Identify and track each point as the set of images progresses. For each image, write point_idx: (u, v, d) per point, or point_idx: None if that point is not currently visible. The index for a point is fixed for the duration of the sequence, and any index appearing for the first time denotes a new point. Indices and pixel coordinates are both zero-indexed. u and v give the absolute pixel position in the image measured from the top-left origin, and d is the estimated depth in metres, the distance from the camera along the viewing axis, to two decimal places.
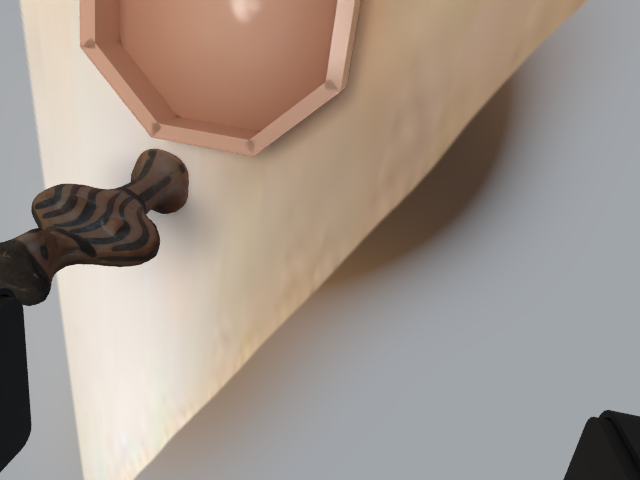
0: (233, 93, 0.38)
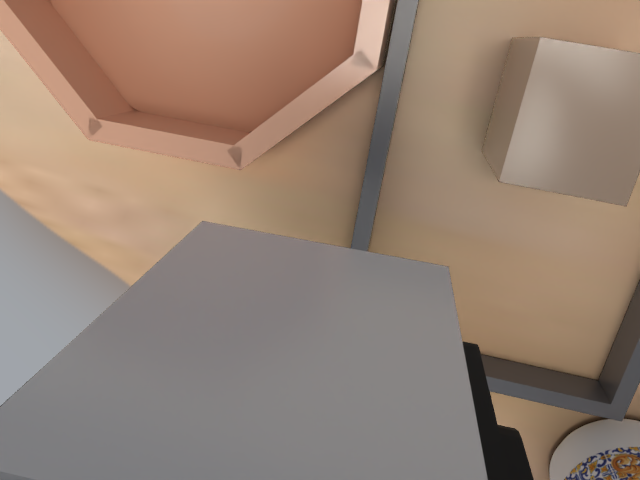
0: None
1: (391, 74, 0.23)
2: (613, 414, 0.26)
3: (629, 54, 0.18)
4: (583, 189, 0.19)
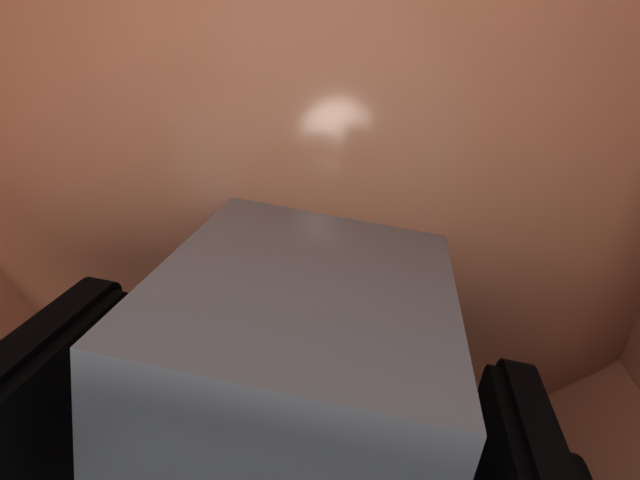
0: (51, 156, 0.12)
1: None
2: None
3: None
4: None
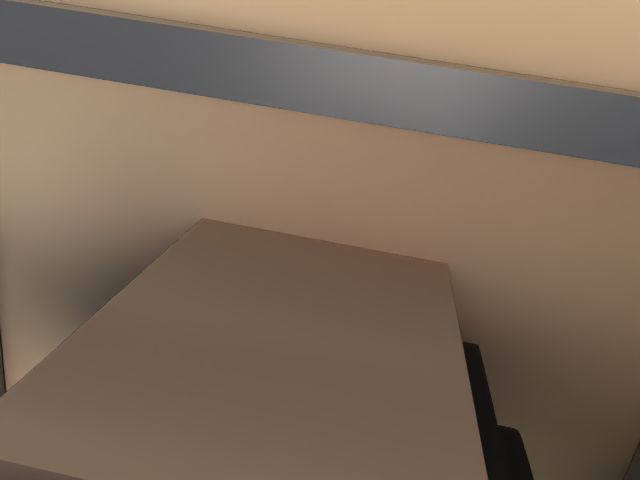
0: None
1: None
2: None
3: None
4: None
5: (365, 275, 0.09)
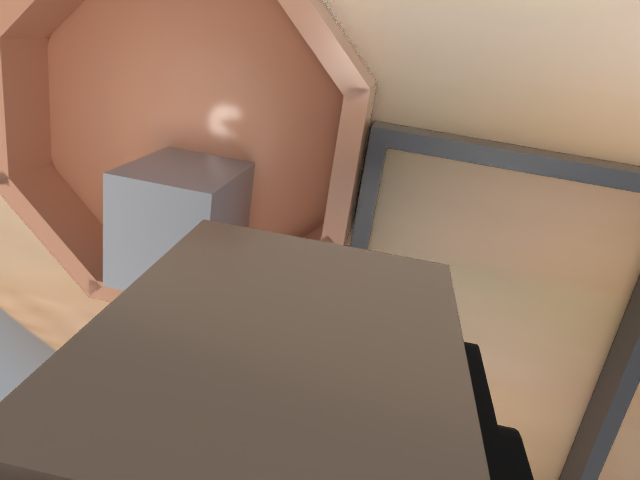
0: (92, 128, 0.27)
1: (357, 243, 0.26)
2: None
3: None
4: None
5: (367, 276, 0.09)
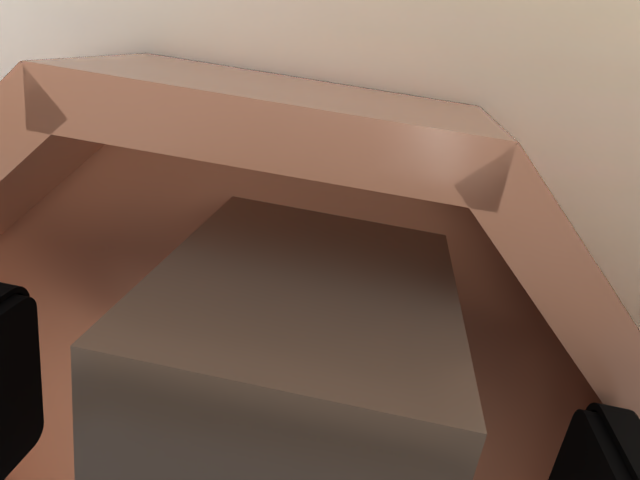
0: (63, 416, 0.14)
1: None
2: None
3: (328, 407, 0.06)
4: None
5: (376, 242, 0.10)
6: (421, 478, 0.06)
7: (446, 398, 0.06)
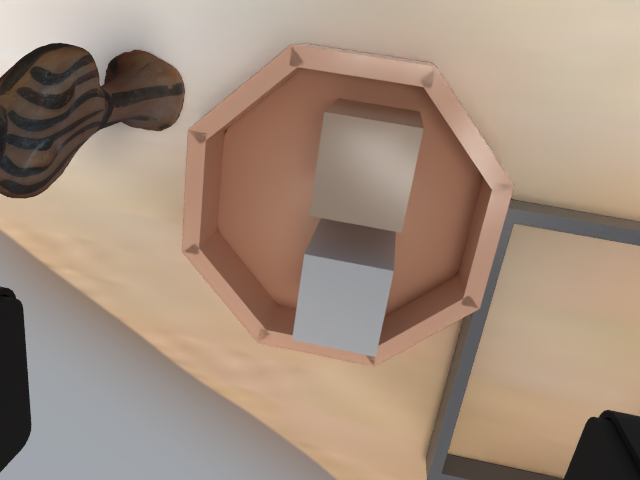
0: (256, 202, 0.33)
1: (483, 296, 0.32)
2: None
3: (387, 124, 0.24)
4: (369, 220, 0.26)
5: (394, 109, 0.29)
6: (408, 143, 0.24)
7: (415, 125, 0.24)
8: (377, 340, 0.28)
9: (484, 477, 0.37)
